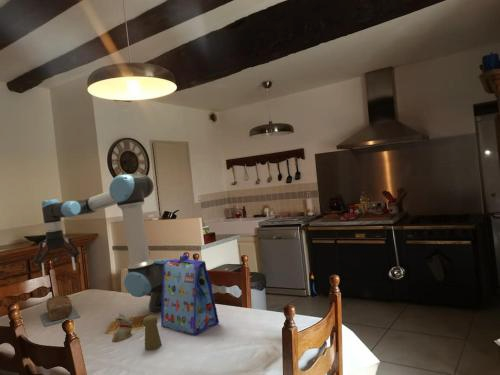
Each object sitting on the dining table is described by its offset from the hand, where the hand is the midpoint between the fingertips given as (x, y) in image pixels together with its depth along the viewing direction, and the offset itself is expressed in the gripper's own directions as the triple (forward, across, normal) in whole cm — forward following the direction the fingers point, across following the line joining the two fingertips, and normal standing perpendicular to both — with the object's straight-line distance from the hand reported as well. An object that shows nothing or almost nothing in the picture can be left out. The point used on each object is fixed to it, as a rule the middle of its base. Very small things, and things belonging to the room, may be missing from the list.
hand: (59, 273), depth 182 cm
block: (+17, +1, -12) cm, 21 cm away
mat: (+21, +2, -1) cm, 21 cm away
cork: (+22, -19, +74) cm, 79 cm away
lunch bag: (+22, -37, +66) cm, 79 cm away
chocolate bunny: (+22, -13, +55) cm, 61 cm away
